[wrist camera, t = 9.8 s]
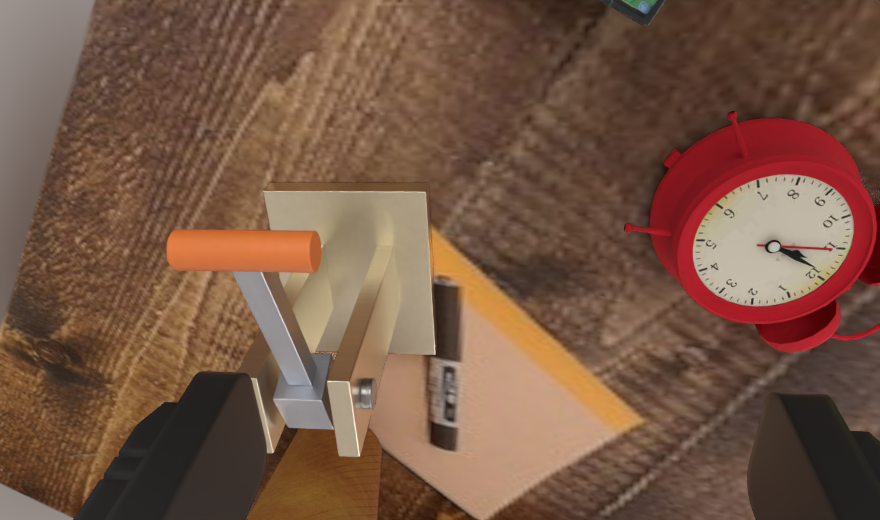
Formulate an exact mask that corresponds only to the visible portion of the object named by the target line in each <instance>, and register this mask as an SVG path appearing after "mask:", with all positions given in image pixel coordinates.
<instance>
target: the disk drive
mask: <svg viewBox="0 0 880 520" xmlns="http://www.w3.org/2000/svg"><path fill="white" fill-rule="evenodd" d="M598 1H600V2H602V3H603V4H604V5H606V6H610V7H612V8H614V9H616V10H617V11H620V12H621V13H622V14H624V15H625V16H627V17H629V18H631V19H632V20H633V21H636V22H637V23H639V24H641V25H644V26H648V25H649V24H650V22H651V21H652V20H653V18H654V17H655V15H656V14H657V12H658V11H659V10H660V8H661V6H662V5H663V4H664V2H665V1H666V0H598Z"/></svg>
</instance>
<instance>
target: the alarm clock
mask: <svg viewBox="0 0 880 520" xmlns="http://www.w3.org/2000/svg"><path fill="white" fill-rule="evenodd" d="M737 117H738V114H737V112H735V111H731V112H729V113H728V115H727V118H728V120H731V121H732V125H730V126H727V127H724V128H722V129H720V130H717V131H715V132H713V133H711V134H709V135H708V136H706V137H704V138H703V139H701V140H699V141H698V142H696V143H695V144H694V145H692V146H691V147H690V148H688V149H687V150H686V151H685V152H684V153H683V154H681V153H679V152H678V151H677V150H676V149H674V150H673V151H672V152H671V153H670V154H669V156H668V157H667V158H666V159H665V160H664V161H663V164H664V165H665V166H666V167H668V168H669V169H668V171H667V172H666V174H665V175H664V177H663V178H662V180H661V182H660V184H659V186H658V188H657V190H656V193H655V195H654V198H653V202H652V205H651V211H650V220H649V221H650V228H642V227H633V226H632V225H631V224H625V226H624V231H625V232H630V231H640V232H647V233H649V234H650V235H651V239H652V243H653V246H654V249H655V251H656V253H657V256H658V258H659V260H660V261H661V263H662V264H663V266H664V267H665V268H666V270H667V271H668V272H669V273H670V274H671V275H672V276H673V277H674V278H675V279H676V280H678V281H679V282H680V284H681V285H682V287H683V289H684V290H685V291H686V293H687V294H688V295H689V296H690V297H691V298H692V299H693V300H694V301H695V302H697V303H698V304H699V305H700V306H702V307H703V308H705V309H706V310H708V311H709V312H711V313H713V314H715V315H717V316H719V317H722V318H724V319H727V320H731V321H735V322H739V323H747V324H755V325H756V328H757V330H758V333H759V335H760V336H761V337H762V339H763V340H764V341H765V342H766V343H767V344H768V345H769V346H771V347H772V348H774V349H776V350H779V351H783V352H801V351H805V350H808V349H811V348H814V347H816V346H818V345H820V344H822V343H823V342H825V341H826V340H828V339H829V338H834V339H838V340H855V339H860V338H863V337H866V336H868V335H870V334H872V333H874V332H876V331H878V330H879V329H880V324H878V325H876V326H875V327H873V328H871V329H869V330H867V331H865V332H862V333H859V334H855V335H849V336H844V335H837V334H834V333H835V332H836V330H837V328H838V326H839V323H840V319H841V313H840V308H839V305H838V303H837V301H836V300H835V299H836V298H837V297H839V296H840V295H841V294H842V293H844V292H847V291H848V290H849V289H851V288H852V287H853V285H852V284H853V283H854V282H855V281H856V280H857V278H858V280H860V281H862V282H864V283H866V284H868V285H874V286H880V204H879V205H877V206H876V207H875V208H874V206H873V203H872V200H871V197H870V195H869V193H868V191H867V189H866V188H865V187H864V185H863V184H862V182H861V177H860V174H859V171H858V168H857V166H856V164H855V162H854V160H853V158H852V157H851V155H850V154H849V152H848V151H847V150H846V149H845V148H844V147H843V146H842V145H841V144H840V143H839V142H838V141H837V140H836V139H835V138H833V137H832V136H831V135H829V134H828V133H826V132H825V131H823V130H821V129H819V128H817V127H815V126H813V125H810V124H807V123H804V122H801V121H796V120H792V119H782V118H761V119H754V120H747V121H743V122H739V123H737V121H736V118H737Z"/></svg>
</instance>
